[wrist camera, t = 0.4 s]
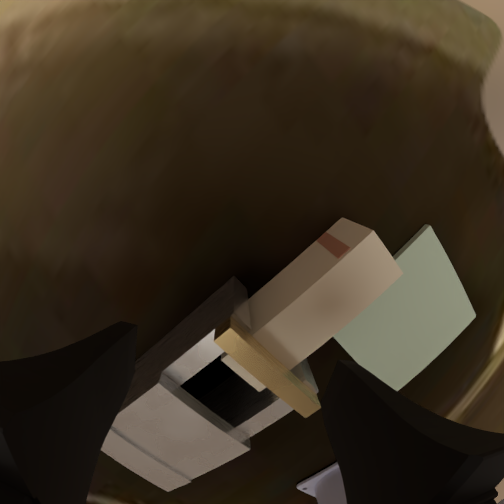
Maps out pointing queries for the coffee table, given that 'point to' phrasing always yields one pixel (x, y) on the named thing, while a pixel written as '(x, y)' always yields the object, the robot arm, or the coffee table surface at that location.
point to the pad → (410, 314)
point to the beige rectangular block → (318, 294)
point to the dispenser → (210, 405)
